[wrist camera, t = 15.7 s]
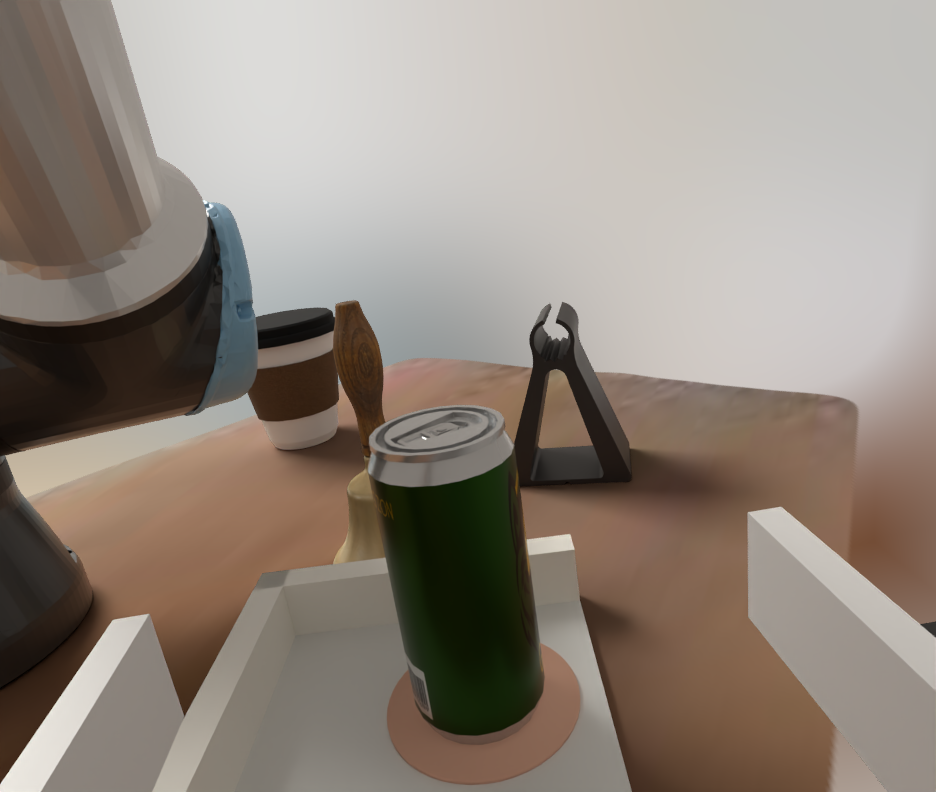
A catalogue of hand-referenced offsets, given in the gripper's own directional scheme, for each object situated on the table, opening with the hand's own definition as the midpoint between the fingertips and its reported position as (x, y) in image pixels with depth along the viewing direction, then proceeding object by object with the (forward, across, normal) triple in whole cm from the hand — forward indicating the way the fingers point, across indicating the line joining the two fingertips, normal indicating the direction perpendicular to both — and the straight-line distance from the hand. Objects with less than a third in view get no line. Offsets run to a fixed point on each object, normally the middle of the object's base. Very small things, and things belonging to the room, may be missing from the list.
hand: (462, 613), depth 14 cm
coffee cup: (+50, -14, -13) cm, 53 cm away
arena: (+10, -3, -12) cm, 16 cm away
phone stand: (+33, +9, -13) cm, 36 cm away
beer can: (+10, 0, -12) cm, 15 cm away
